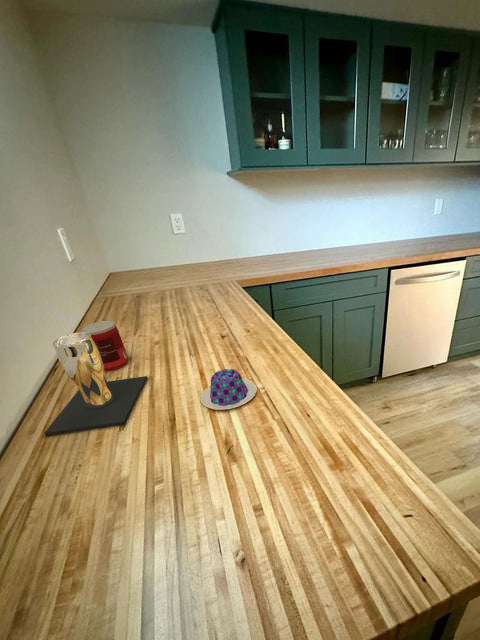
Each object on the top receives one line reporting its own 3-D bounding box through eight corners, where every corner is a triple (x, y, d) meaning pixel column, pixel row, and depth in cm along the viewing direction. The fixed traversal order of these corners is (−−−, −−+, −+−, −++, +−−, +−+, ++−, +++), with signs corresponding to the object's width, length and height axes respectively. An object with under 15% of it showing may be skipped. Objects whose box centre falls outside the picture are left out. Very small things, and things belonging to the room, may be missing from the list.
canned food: (120, 355, 95) (105, 318, 90) (135, 361, 91) (121, 323, 85) (93, 367, 90) (76, 329, 85) (108, 374, 86) (91, 334, 80)
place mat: (45, 436, 65) (43, 433, 65) (84, 387, 81) (82, 384, 80) (124, 424, 67) (123, 421, 66) (147, 378, 82) (146, 375, 82)
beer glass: (85, 397, 75) (55, 336, 67) (118, 389, 77) (93, 328, 70) (81, 414, 69) (47, 349, 62) (117, 404, 72) (89, 340, 64)
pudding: (240, 416, 66) (235, 394, 63) (189, 407, 70) (183, 386, 67) (266, 384, 75) (263, 363, 73) (220, 378, 79) (215, 358, 77)
